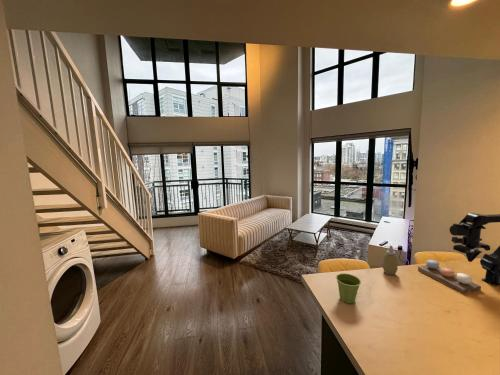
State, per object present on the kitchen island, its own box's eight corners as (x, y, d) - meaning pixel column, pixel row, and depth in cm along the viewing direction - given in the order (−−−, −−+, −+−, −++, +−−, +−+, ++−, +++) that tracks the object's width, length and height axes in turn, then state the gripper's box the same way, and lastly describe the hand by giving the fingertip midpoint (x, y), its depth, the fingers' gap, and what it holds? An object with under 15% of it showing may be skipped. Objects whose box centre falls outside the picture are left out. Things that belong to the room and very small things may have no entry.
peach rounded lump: (445, 276, 129) (446, 267, 129) (456, 281, 124) (457, 272, 123) (437, 277, 128) (438, 268, 128) (448, 282, 122) (449, 273, 122)
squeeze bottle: (396, 277, 129) (398, 249, 127) (381, 273, 134) (382, 246, 132) (397, 272, 136) (399, 245, 133) (382, 268, 140) (384, 242, 138)
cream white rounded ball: (461, 282, 121) (462, 272, 120) (474, 288, 115) (475, 278, 114) (453, 283, 120) (454, 273, 119) (465, 289, 114) (466, 279, 113)
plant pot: (363, 308, 103) (364, 286, 102) (337, 305, 106) (338, 284, 104) (356, 293, 115) (357, 274, 114) (333, 291, 117) (333, 272, 116)
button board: (433, 268, 139) (433, 264, 139) (480, 290, 115) (481, 286, 115) (417, 270, 137) (418, 266, 137) (463, 293, 113) (463, 289, 112)
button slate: (431, 267, 138) (431, 259, 137) (440, 272, 132) (441, 263, 131) (423, 268, 136) (424, 260, 136) (433, 273, 131) (433, 264, 130)
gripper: (468, 229, 130) (466, 254, 132) (444, 232, 127) (441, 257, 128) (492, 236, 119) (489, 262, 121) (466, 239, 116) (463, 266, 118)
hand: (469, 261), depth 122 cm, fingers closed
